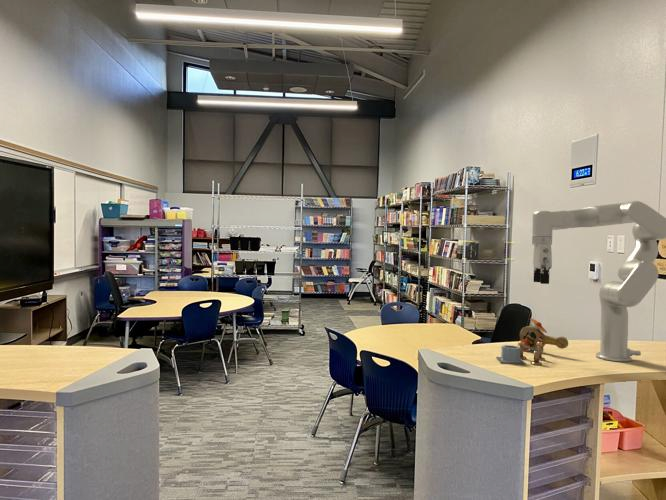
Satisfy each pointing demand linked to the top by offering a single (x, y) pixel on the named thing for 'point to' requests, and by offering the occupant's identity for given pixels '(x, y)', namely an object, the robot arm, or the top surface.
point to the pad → (510, 362)
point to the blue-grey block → (510, 353)
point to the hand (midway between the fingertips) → (541, 282)
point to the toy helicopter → (539, 337)
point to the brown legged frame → (536, 352)
